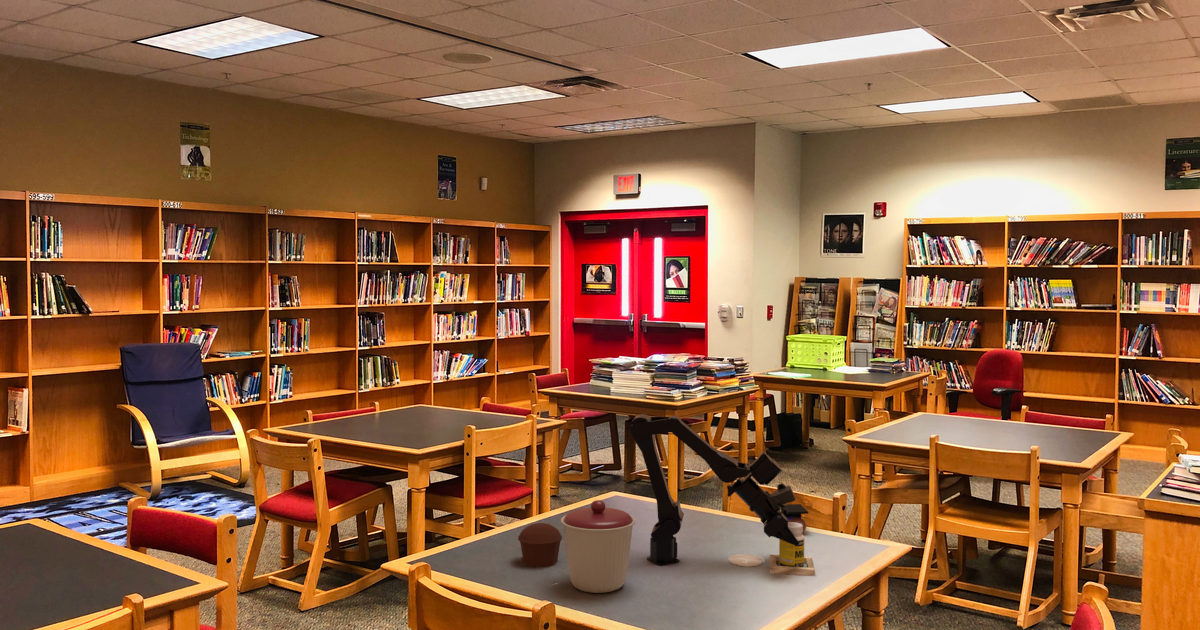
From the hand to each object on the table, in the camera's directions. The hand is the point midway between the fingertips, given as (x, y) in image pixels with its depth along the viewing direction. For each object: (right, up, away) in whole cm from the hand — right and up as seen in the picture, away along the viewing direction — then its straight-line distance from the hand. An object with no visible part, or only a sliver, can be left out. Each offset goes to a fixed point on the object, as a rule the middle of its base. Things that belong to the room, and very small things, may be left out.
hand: (797, 540), depth 235 cm
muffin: (-67, -7, +5) cm, 67 cm away
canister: (-52, -8, -14) cm, 54 cm away
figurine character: (+7, -6, +37) cm, 38 cm away
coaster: (-12, -7, +6) cm, 15 cm away
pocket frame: (-1, -7, 0) cm, 7 cm away
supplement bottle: (-1, -7, 0) cm, 7 cm away
